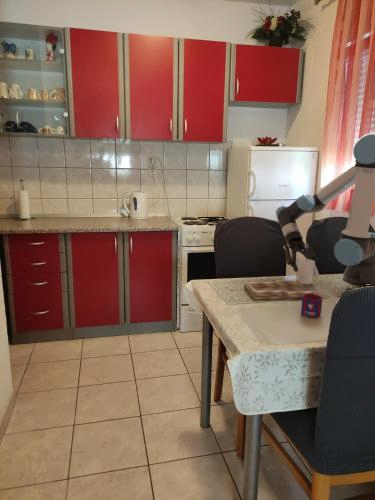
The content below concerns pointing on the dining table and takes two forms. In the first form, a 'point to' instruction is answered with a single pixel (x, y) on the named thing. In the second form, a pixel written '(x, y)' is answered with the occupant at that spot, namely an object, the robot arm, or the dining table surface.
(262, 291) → the wooden tray
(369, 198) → the robot arm
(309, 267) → the white cup
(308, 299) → the mug
